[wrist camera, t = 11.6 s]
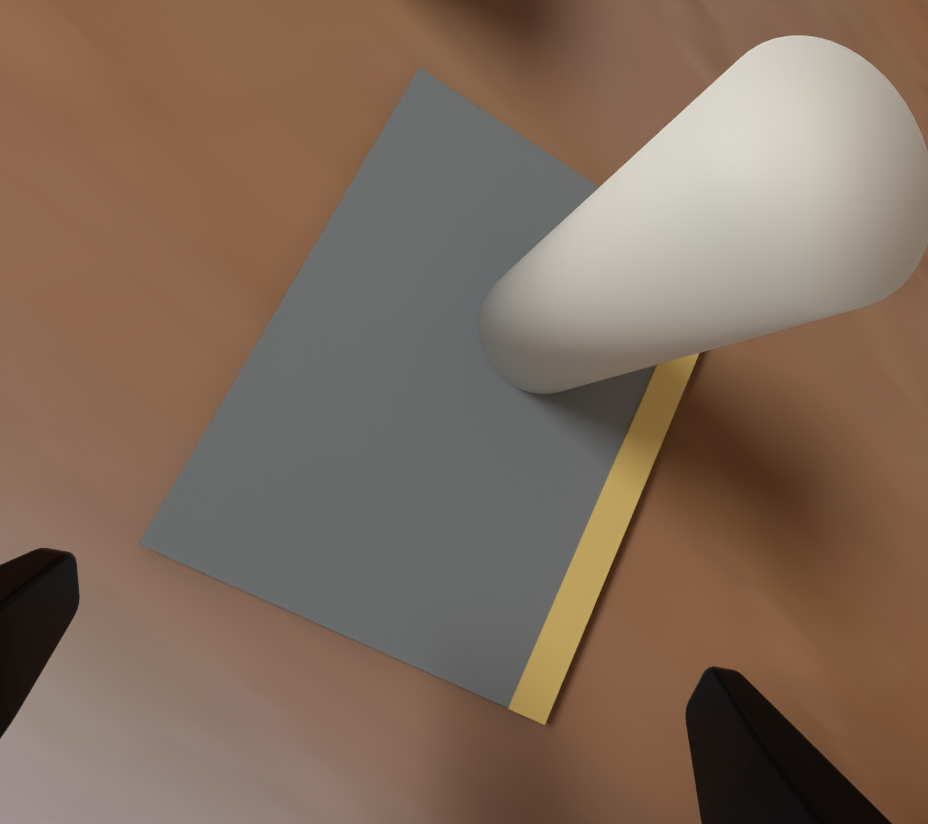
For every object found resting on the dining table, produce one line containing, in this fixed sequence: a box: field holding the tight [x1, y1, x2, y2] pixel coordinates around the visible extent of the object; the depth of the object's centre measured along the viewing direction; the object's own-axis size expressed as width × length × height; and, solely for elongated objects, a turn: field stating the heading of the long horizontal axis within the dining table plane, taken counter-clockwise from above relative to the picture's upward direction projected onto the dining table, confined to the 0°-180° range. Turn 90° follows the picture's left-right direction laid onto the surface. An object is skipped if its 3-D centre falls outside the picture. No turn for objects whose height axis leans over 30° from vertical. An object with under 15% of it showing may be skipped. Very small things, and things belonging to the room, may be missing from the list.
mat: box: [139, 67, 699, 725], centre depth 21 cm, size 18×14×1 cm
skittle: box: [479, 35, 928, 394], centre depth 16 cm, size 5×5×12 cm
